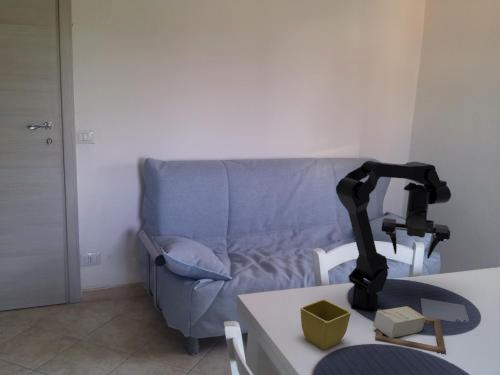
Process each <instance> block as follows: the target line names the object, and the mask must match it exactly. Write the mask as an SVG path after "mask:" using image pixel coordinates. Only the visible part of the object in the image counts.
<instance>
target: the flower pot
mask: <svg viewBox="0 0 500 375" xmlns="http://www.w3.org/2000/svg"><path fill="white" fill-rule="evenodd" d="M351 314H352V312H351V311H349V310H347V309H345V308H343V307H342V306H339V305H338V304H335V303H333V302H331V301H329V300H327V299H320V300H317V301H314V302H312V303H309V304H307V305H304V306H302V307H300V321H301V330H302V332H303V335H304V337H305V339H306V341H307V342H309V343H312V344H313V345H315V346H316V347H318V348H320V349H322V350H327V349H329V348H331V347H333V346H336V345H338V344H339V343H341V341H342V340H343V338H344V336H345V335H346V333H347V329H348V326H349V322H350V318H351Z"/></svg>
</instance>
